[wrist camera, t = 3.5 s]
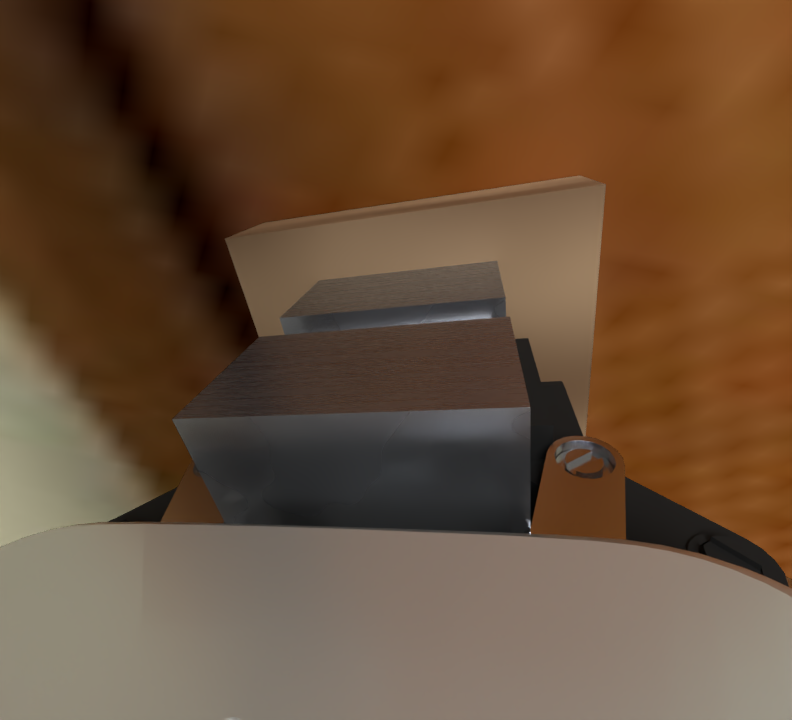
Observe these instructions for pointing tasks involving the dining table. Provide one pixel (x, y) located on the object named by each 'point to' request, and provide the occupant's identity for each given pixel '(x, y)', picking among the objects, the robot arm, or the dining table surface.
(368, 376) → the block
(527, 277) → the stand walnut
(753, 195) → the dining table surface
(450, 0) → the dining table surface
